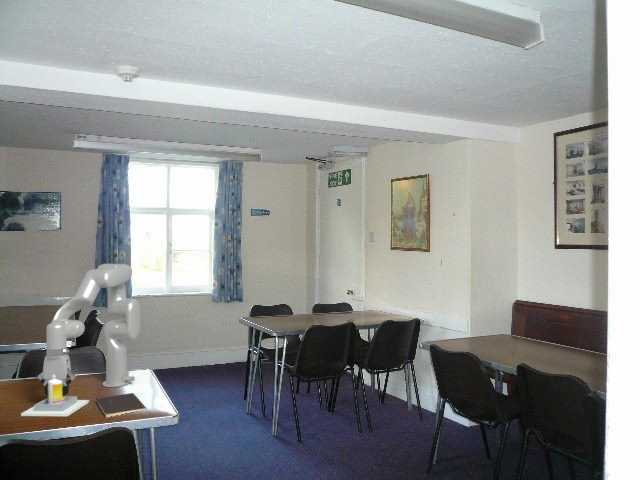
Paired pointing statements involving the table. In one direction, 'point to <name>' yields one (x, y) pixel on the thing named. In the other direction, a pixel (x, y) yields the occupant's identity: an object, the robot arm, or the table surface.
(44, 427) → the table surface
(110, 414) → the hardcover book
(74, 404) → the holder board
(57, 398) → the supplement bottle
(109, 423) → the table surface
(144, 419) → the table surface
